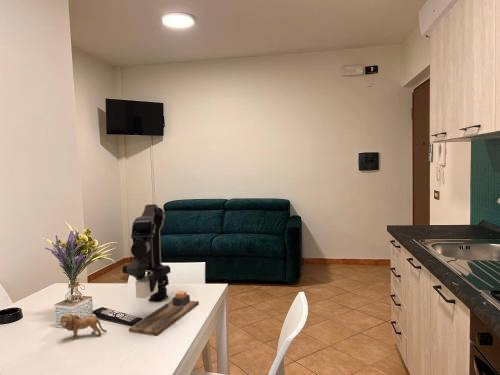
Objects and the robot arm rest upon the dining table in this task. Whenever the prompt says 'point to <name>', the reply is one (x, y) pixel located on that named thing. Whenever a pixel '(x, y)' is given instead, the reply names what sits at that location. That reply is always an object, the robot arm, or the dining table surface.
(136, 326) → the rail mount
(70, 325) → the lion figurine
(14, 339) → the dining table surface
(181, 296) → the button
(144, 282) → the block
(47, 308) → the dining table surface
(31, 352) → the dining table surface
